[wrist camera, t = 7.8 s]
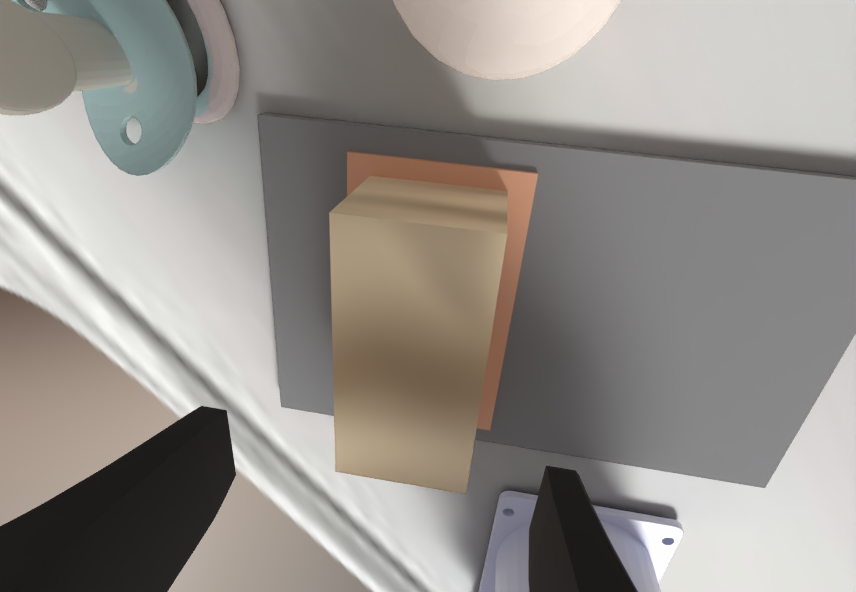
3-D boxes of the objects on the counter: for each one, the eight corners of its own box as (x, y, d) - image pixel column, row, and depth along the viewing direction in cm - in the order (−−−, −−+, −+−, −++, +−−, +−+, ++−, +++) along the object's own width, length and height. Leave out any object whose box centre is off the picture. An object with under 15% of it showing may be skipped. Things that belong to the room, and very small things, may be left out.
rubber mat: (757, 476, 19) (764, 488, 19) (286, 398, 21) (281, 407, 21) (924, 183, 14) (940, 189, 13) (265, 112, 16) (257, 114, 15)
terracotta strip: (490, 426, 20) (490, 430, 19) (347, 403, 20) (346, 406, 20) (537, 172, 15) (538, 173, 15) (348, 150, 15) (347, 152, 15)
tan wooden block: (370, 175, 15) (329, 212, 12) (507, 190, 15) (507, 233, 11) (366, 395, 20) (335, 471, 16) (473, 412, 19) (466, 494, 16)
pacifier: (136, -155, 13) (5, -27, 15) (-121, -311, 8) (-278, -77, 10) (288, 96, 16) (160, 180, 18) (178, 116, 10) (7, 236, 12)
